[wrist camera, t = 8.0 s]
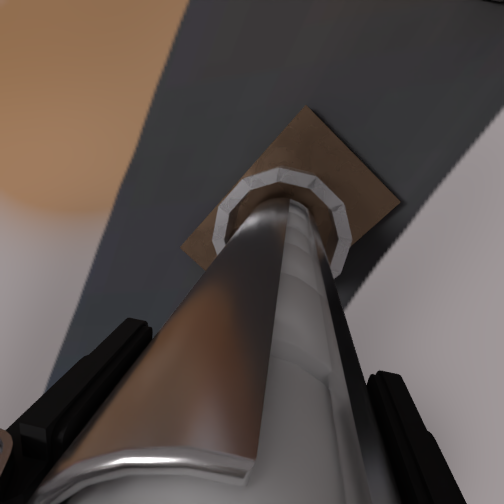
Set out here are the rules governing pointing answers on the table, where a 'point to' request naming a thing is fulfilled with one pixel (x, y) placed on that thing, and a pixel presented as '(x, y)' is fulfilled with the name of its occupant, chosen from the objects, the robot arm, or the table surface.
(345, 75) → the table surface
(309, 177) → the duct collar
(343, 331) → the silver long cylinder
